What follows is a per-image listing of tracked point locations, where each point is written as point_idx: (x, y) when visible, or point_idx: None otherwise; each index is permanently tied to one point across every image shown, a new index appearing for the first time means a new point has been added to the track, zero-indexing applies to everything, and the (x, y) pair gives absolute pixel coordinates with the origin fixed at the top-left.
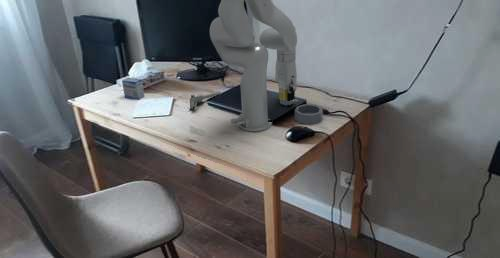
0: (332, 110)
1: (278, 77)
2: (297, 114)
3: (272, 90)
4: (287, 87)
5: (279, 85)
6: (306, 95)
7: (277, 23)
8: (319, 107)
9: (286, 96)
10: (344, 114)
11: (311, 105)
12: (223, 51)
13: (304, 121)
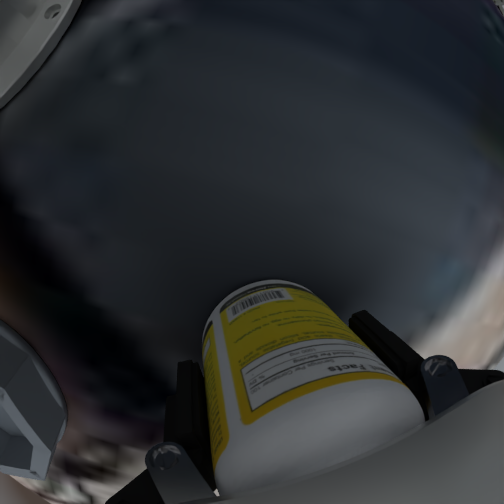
0: (102, 493)
1: (486, 492)
2: None
3: (490, 278)
4: (204, 496)
5: (375, 405)
6: None
7: None
8: (12, 471)
9: (208, 385)
10: (64, 498)
11: (31, 460)
12: None
13: None
